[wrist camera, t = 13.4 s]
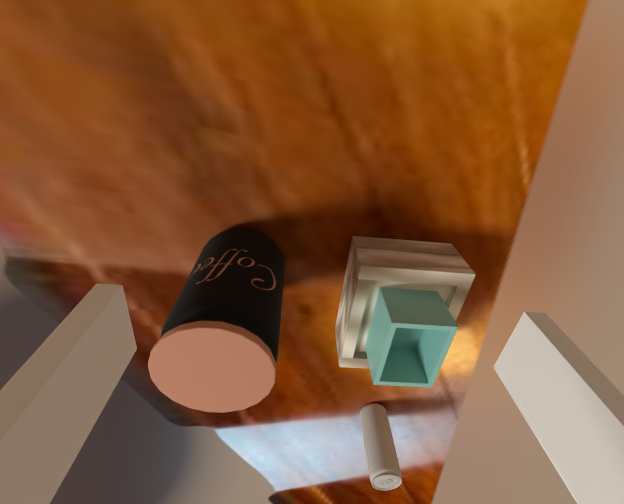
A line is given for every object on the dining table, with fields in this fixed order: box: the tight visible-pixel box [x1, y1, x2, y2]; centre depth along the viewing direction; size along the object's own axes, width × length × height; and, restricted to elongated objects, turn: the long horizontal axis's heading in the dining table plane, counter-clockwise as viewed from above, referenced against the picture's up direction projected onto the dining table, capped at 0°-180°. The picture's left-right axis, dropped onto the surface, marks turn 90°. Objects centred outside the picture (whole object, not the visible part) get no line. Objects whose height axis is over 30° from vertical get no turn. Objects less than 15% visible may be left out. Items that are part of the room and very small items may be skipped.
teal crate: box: [365, 287, 458, 387], centre depth 39 cm, size 10×7×6 cm
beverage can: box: [360, 403, 402, 490], centre depth 55 cm, size 5×5×12 cm
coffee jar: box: [148, 229, 285, 412], centre depth 36 cm, size 11×11×18 cm
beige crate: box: [335, 236, 476, 368], centre depth 43 cm, size 16×13×7 cm
